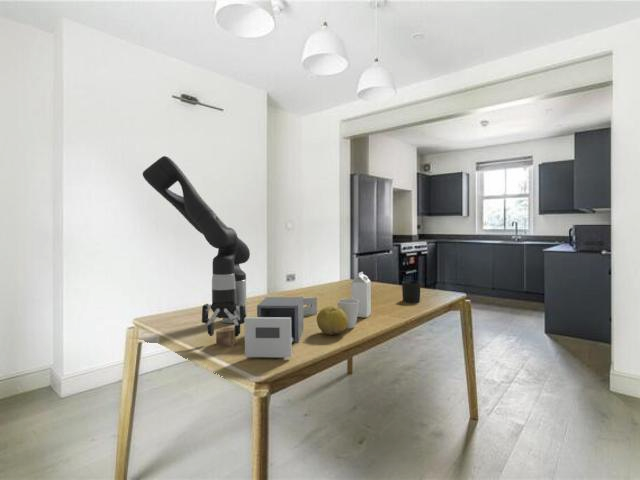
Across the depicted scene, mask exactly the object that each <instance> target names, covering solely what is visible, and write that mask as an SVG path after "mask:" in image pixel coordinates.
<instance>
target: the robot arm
mask: <svg viewBox="0 0 640 480" xmlns="http://www.w3.org/2000/svg"><path fill="white" fill-rule="evenodd" d="M142 176H143V178H144V180H145V181H146V182H147V184H149V185H150V186H151V187H152V188H153V189H154V190H155V191H156V192H157V193H159V195H161V196H162V197H163V199H165V200H166V201H167V202H169V204H170V205H172V207H174V208H175V209H176V210H177V211H178V212H179V214H181V215H182V216H183V218H185V220H186V221H187V222H189V224H190V225H191V226H192V227H194V229H195V230H197V231H198V233H200V234H201V235H203V236H204V239H205V240H206V241H207V243H208V244H209V245H210V246H211V247H213V248H215V249H218V251H217V254H216V256H214V257H213V258H212V278H211V303H212V304H209V303H205V304H204V305H202V308H201V309H202V310H201V311H202V312H201V323H203V324H206V325H207V334H208V335H209V337H213V336H214V334H215V329H214V328H215V327H214V326H215V324H214V322H215V321H216V319H217V318H218V319H221V321H222V323H227V324H234V326H233V328H235V337H236V338H237V337H238V336H239V335H240V334H241V325H242V324H244V318H245V317H248V315H247V312H248V311H247V275H246V272H245V271H243V270H242V269H241V267H240V265H241V264H245V263H247V262H248V261H249V260H250V257H251V253H250V248H249V247H248V245H247V244H246V243H245V242H244V241H243V240H242V239H241V238H239V237H238V233H237V231H235V229H234V228H232V227H229V226H227V224H225V223H224V221H222V220H221V219H220V217H219V216H218V215H217V213H216V212H215V211H214V210H213V209H212V208H211V207H210V206H209V204H207V202H206V201H205V200H204V199H203V198H202V196H200V194H199V193H198V192H197V190H196V188H195V186H193V184H192V183H191V181H190V180H189V179H188V177H187V176H186V174H184V172H183V171H182V170H181V168H180V167H179V166H178V165H177V163H175V162H174V160H172V159H171V158H170V157H169V156H166V155H164V156H162V157H160V158H158V159H157V160H156V161H154V162H153V163H152V164H151V165H150V166H148V167H147V168H145V169H144V170H143V172H142ZM176 183H179V185H180V187H181V190H182V196H181V195H179V194H177V193H175V192H173V191H172V190H170V188H171V187H172V186H174V185H175V184H176ZM210 311H212V315H211V316H210V318H209V313H210Z"/></svg>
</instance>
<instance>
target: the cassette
mask: <svg viewBox="0 0 640 480" xmlns="http://www.w3.org/2000/svg"><path fill="white" fill-rule="evenodd" d="M304 306H305V307H304ZM314 315H318V298H317V296H312V297H303V317H305V316H306V317H307V316H314Z"/></svg>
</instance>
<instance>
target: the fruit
mask: <svg viewBox="0 0 640 480" xmlns="http://www.w3.org/2000/svg"><path fill="white" fill-rule="evenodd" d="M316 315H317V316H316V323H317V326H318V328H319V330H320V331H321V332H323V333H324V334H325V335H336V334H339V333H341V332H343V331H344V330H346V329H347V328H346V327H347V326H348V317H347V315H346V314H345V313H344V311H343V310H342V309H340V308H338V307H335V306H333V305H328V306H326V307H324V308H322V309H321V310H320V311H318V312H317V314H316Z"/></svg>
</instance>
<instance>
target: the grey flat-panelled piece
mask: <svg viewBox="0 0 640 480" xmlns="http://www.w3.org/2000/svg"><path fill="white" fill-rule="evenodd" d="M243 324H244V325H243V326H244V357H245V358H292V357H293V354H292V353H293V352H292V350H293V349H292V347H293V346H292V345H293V344H292V343H293V342H292V341H293V337H291V317H257V316H256V317H255V316H253V317H251V316H250V317H249V316H247V317H245V318H244V323H243Z"/></svg>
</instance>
